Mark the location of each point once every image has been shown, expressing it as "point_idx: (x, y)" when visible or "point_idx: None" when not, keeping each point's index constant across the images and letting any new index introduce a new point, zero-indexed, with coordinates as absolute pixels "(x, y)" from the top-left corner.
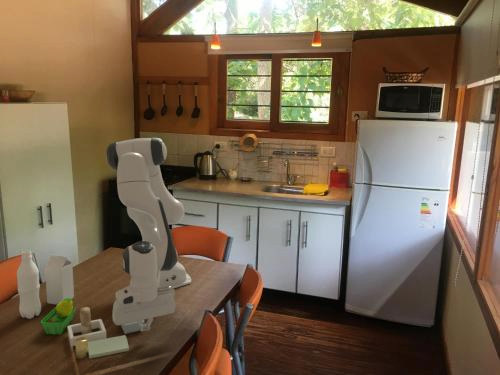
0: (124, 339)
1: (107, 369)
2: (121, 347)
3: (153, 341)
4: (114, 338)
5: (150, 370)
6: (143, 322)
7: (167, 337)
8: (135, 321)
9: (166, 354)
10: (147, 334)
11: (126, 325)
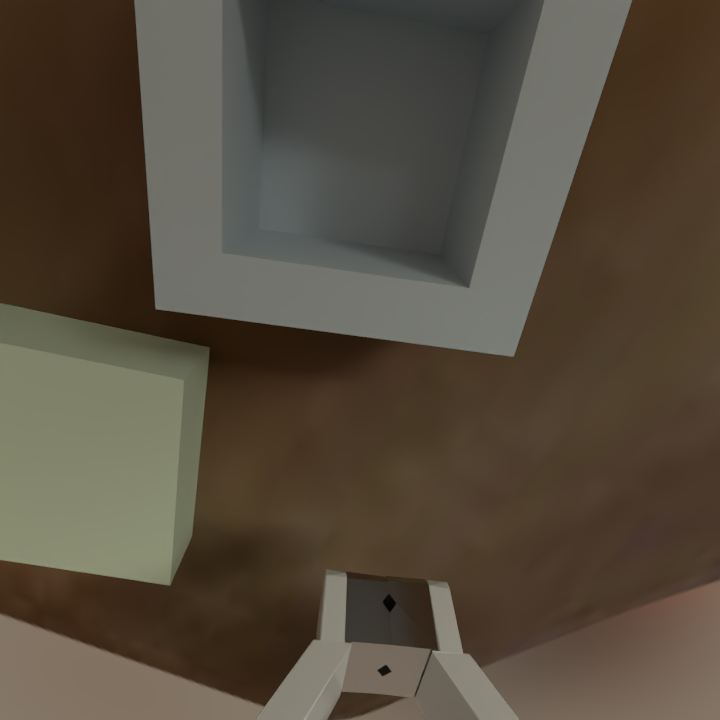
0: (153, 453)
1: (8, 609)
2: (100, 555)
3: (442, 494)
4: (34, 380)
5: None
6: (491, 346)
7: (580, 503)
8: (469, 20)
9: None
10: (462, 364)
11: (191, 312)
